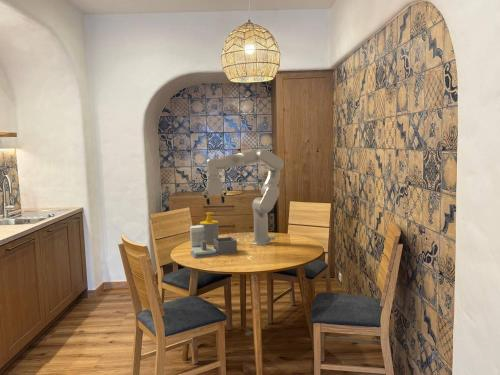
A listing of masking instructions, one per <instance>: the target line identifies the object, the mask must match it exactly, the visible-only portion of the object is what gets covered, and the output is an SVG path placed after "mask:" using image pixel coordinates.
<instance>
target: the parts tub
mask: <svg viewBox="0 0 500 375" xmlns="http://www.w3.org/2000/svg"><path fill="white" fill-rule="evenodd" d="M237 243H238V242H237V239H235V238H234V237H232V236H225V237H218V238H215V239H214V244H213V248H214V249H215V250H216V253H217V256H222V255H232V254H237V253H238V245H237Z"/></svg>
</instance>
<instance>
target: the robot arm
mask: <svg viewBox="0 0 500 375" xmlns="http://www.w3.org/2000/svg"><path fill="white" fill-rule="evenodd" d="M260 162H262V163H264V164H265V166H266V168H267V172H268V173H267V177H266V179H265V180H264V182H263V185H262V186H261V189H260V194H261V195H262V196H263V197H256V198H254V199H253V201H252V203H251V206H252V214H253V235H254V236H253V237H254V238H253V239H254V240H253V241H252V242H251V243H252V244H253V245H256V246H265V245H270V244H271V243H272V242H271V240H276V237H275V236H269V224H268V223H269V220H268V214H269V213H270V212H271V211H272V210H273V208H274V206H275V204H276V202H277V200H278V199H279V196H280V187H278V184H279V183H280V182H279V181H280V180H281V171H282V169H283V168H284V167H285V163H284V160H283V159H282V158H281V157H280V156H278V155H276V154H274V153H273V152H271V151H270V150H268V149H266V148H258V149H253V150H249V151H243V152H239V153H235V154H230V155H225V156H221V157H218V158H207V159H206V168H207V180H206V189H205V190H204V191H202V192H201V195H203V196H202V197H204V198H205V201H206V204H207V206H209V205H211V202H210V197H212V196H221V197H220V199H221V200H220V201H221V204H224V203H225V197H226V195H227V193H228V190H229V189H226V188H224V187H223V183H222V179H221V178H222V175H221V174H220V170H228V169H229V168H230V167H234V166H246V165H251V164H255V163H260Z"/></svg>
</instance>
